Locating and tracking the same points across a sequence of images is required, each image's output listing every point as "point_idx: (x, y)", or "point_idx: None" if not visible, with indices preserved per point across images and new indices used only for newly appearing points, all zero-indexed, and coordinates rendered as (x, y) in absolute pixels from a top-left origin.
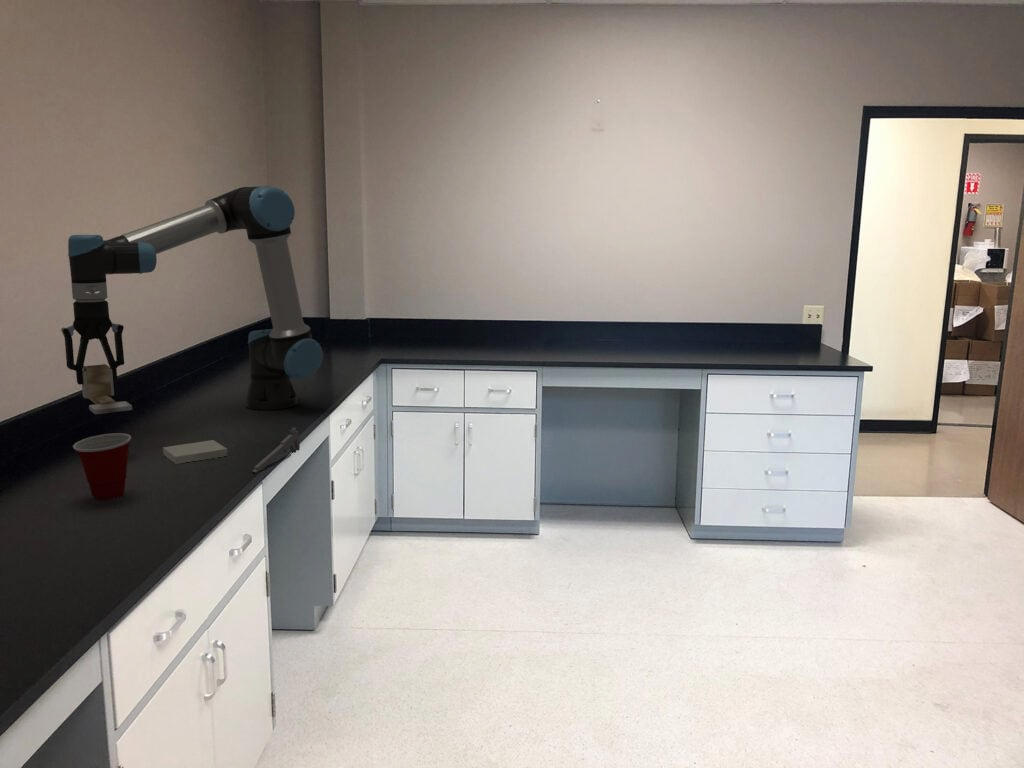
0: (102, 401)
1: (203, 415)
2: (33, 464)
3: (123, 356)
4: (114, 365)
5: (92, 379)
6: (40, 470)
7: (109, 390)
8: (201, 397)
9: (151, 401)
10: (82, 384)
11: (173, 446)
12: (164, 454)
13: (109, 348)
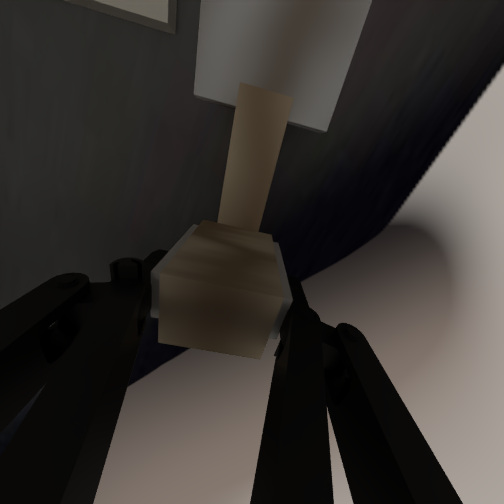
0: (278, 120)
1: (38, 282)
2: (371, 192)
3: (4, 307)
4: (124, 280)
5: (257, 260)
6: (394, 139)
7: (204, 226)
8: None
9: None
10: None
11: (141, 6)
12: (174, 18)
13: (39, 412)
